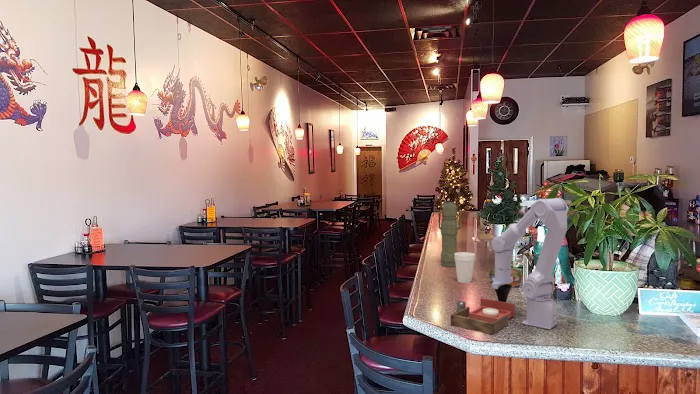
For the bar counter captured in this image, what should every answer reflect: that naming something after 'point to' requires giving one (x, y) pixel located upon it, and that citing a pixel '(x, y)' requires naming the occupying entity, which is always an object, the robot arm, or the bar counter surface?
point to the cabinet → (477, 322)
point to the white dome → (490, 312)
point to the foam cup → (464, 266)
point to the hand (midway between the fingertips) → (502, 304)
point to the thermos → (449, 233)
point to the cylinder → (461, 305)
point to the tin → (514, 273)
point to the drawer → (500, 306)
